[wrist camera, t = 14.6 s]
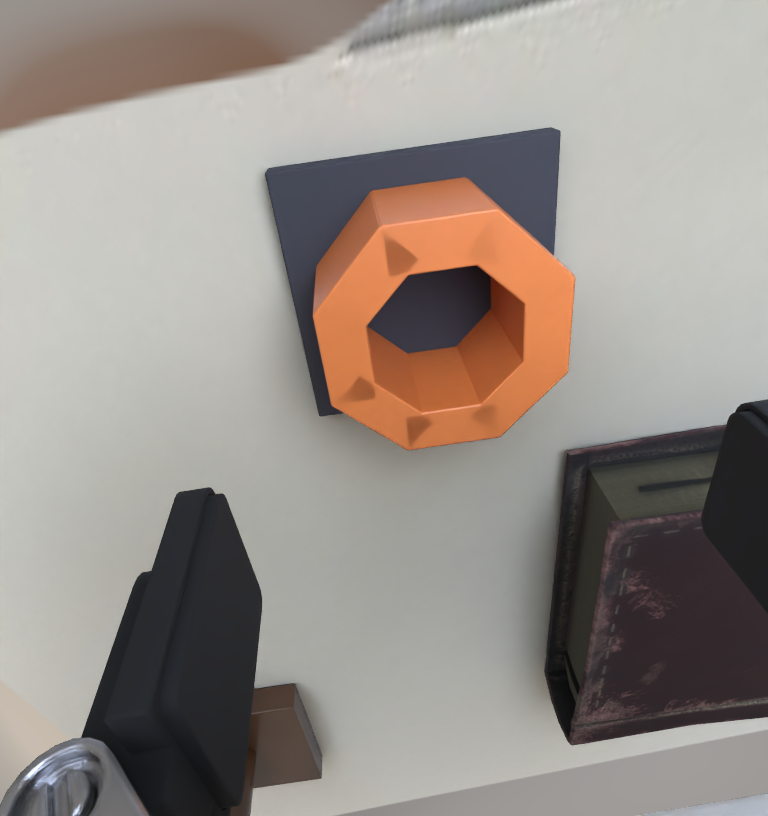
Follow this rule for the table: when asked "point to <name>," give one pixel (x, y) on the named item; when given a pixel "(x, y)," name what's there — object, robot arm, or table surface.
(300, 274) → the mat
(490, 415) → the ring
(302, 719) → the stand
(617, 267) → the table surface
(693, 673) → the diary
